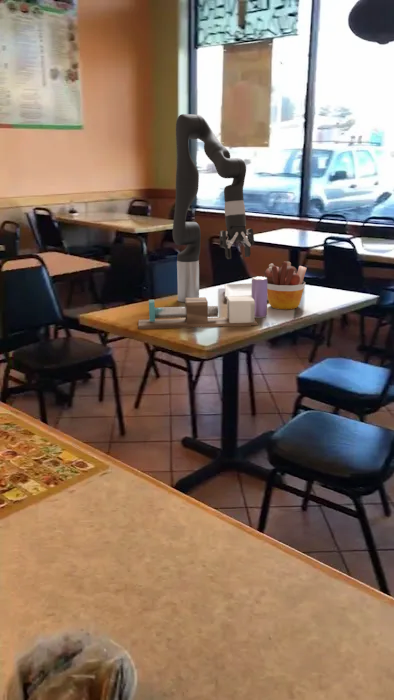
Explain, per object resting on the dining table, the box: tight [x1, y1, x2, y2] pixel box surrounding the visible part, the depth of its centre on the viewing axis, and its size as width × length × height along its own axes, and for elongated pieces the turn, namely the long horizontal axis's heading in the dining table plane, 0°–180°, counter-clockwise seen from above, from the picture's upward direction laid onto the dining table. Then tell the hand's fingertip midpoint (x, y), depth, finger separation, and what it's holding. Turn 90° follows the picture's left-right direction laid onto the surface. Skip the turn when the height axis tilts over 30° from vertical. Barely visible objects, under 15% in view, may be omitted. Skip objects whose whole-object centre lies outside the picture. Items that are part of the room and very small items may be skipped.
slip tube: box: [148, 299, 219, 321], centre depth 232 cm, size 25×5×7 cm, turn 94°
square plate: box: [224, 282, 269, 303], centre depth 281 cm, size 27×27×4 cm
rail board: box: [138, 296, 258, 330], centre depth 233 cm, size 10×43×9 cm, turn 94°
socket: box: [226, 296, 255, 323], centre depth 234 cm, size 9×9×8 cm
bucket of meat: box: [264, 261, 307, 311], centre depth 257 cm, size 20×16×20 cm
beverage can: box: [251, 276, 268, 319], centre depth 242 cm, size 6×6×15 cm
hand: (238, 257), depth 239 cm, fingers open, 8 cm apart
